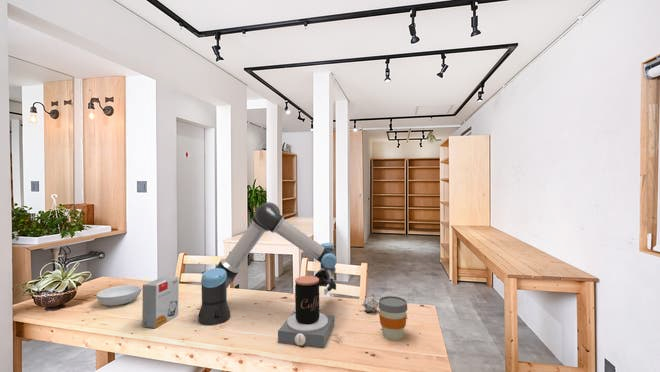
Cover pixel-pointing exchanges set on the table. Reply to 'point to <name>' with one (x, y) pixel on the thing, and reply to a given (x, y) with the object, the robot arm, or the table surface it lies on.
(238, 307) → the table surface
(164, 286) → the hard drive box
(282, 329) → the kitchen scale
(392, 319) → the reusable coffee cup
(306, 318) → the coffee jar
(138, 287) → the serving bowl
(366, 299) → the game die
